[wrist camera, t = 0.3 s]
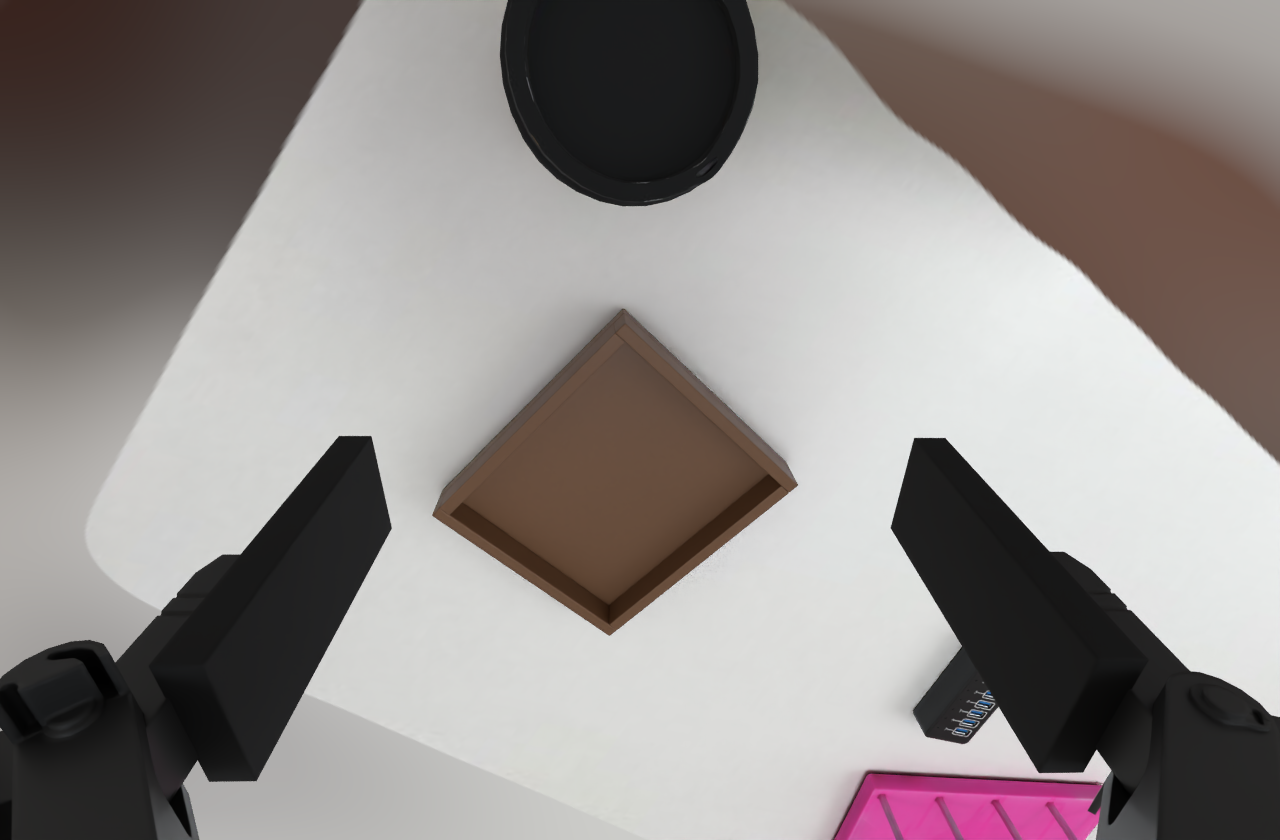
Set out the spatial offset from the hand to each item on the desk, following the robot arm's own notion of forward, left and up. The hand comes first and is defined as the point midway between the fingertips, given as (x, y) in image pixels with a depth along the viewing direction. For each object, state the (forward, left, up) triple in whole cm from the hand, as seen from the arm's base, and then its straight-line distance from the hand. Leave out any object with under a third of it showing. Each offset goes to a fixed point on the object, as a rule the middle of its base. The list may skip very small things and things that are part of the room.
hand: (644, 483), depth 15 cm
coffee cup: (-7, -7, -23) cm, 25 cm away
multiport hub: (+4, +45, -23) cm, 51 cm away
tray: (+10, +9, -23) cm, 27 cm away
